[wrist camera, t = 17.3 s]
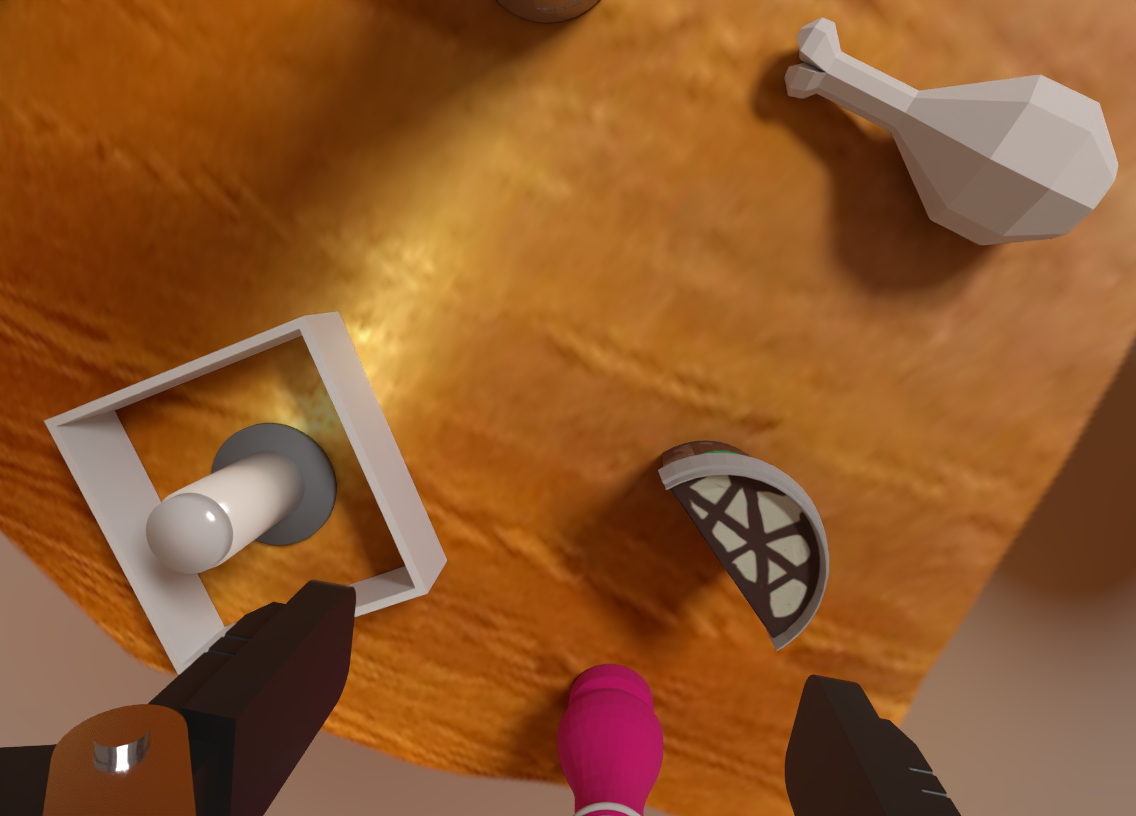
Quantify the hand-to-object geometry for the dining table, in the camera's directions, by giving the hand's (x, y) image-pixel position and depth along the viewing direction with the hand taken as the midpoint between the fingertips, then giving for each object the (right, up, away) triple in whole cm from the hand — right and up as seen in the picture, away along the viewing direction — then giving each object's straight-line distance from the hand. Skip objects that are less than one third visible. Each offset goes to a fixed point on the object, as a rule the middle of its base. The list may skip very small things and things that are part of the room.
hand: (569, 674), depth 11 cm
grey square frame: (-21, -1, +36) cm, 42 cm away
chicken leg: (+21, +21, +28) cm, 41 cm away
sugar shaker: (-21, -1, +35) cm, 41 cm away
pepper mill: (+3, -17, +37) cm, 41 cm away
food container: (+12, 0, +33) cm, 35 cm away
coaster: (-21, -1, +36) cm, 42 cm away
